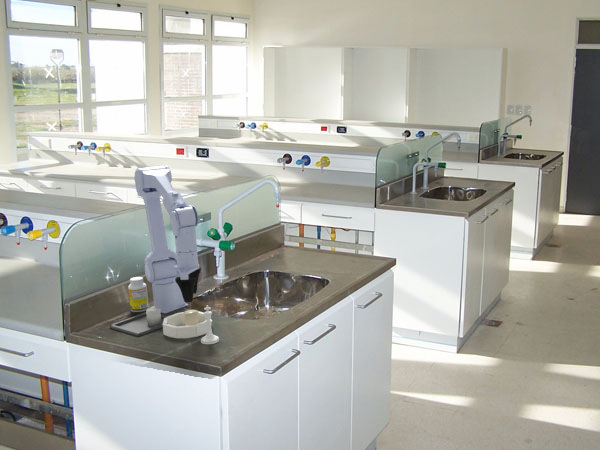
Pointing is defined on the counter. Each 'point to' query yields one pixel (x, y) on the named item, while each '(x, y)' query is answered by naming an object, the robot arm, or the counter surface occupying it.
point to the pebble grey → (153, 316)
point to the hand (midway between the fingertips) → (190, 297)
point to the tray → (136, 325)
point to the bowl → (183, 326)
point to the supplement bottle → (138, 294)
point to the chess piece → (209, 329)
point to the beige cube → (191, 317)
